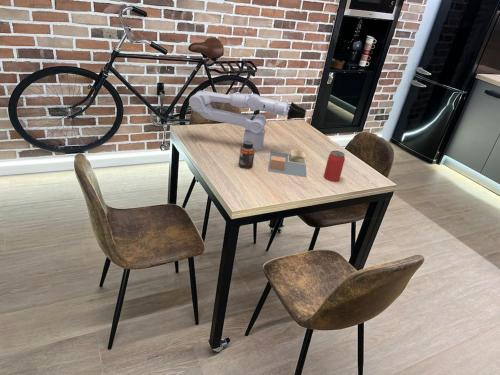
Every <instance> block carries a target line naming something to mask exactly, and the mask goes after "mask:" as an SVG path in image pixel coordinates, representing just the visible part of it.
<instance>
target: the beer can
mask: <svg viewBox="0 0 500 375" xmlns="http://www.w3.org/2000/svg"><path fill="white" fill-rule="evenodd" d="M345 157H346V156H345V152H342V151H340V150H331V152H330V153H329V155H328V157H327V161H326V166H325V169H324V174H323V179H324V180H327V181H328V182H331V183H333V182H334V183H335V182H339V181H340V178H341V175H342V172H343V169H344V168H343V167H344V164H345V161H346V158H345Z"/></svg>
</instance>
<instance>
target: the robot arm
mask: <svg viewBox="0 0 500 375" xmlns="http://www.w3.org/2000/svg"><path fill="white" fill-rule="evenodd" d="M212 102H214V103H215V102H216V103H226V104H230V105H231V106H232V107H237V108H244V109H247V108H248V109H249V110H251V111H252V112H256V111H261V112H266V113H268V114H274V115H278V116H282V117H286V120H293V119H305V117H306V114H307V109H305V108H303V107H301V106H299V105H298V104H296V103H294V101H291V104H289V100H288V99H286V102H285V101H281V100H276V99H271V98H267V97H261V96H260V95H259V94H257V93H253V94H251V93H248V94H245V93H240V91H236V92H234V93H232V94H226V93H219V92H214V91H211V90H210V91H209V90H205V91H204V90H198V91H196V92H195V93H194V94H193V95H191V96H190V97H189V100H188V104H189V106H190V108H191V110H192V111H193V112H196V113H197V114H199V115H200V116H202V117H203V119H206V120H210V121H216V122H220V123H223V124H224V123H225V124H229V125H233V126H239V127H243V128H244V129H245V130H244V132H243V138H242V142H241V143H242V145H241V146H243V142H244V141H246V140H248V141H252V142H253V147H254V148H255V152H261V151H263V148H264V140H265V134H266V130H265V126H266V124H267V118H266V117H265V115H263V114H260V113H259V114H258V113H257V114H242V113H237V112H233V111H229V110H228V111H226V110H223V109H218V108H214V107H213V106H212V105H211V103H212Z"/></svg>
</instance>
